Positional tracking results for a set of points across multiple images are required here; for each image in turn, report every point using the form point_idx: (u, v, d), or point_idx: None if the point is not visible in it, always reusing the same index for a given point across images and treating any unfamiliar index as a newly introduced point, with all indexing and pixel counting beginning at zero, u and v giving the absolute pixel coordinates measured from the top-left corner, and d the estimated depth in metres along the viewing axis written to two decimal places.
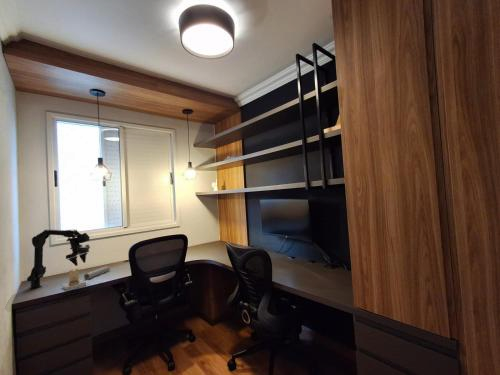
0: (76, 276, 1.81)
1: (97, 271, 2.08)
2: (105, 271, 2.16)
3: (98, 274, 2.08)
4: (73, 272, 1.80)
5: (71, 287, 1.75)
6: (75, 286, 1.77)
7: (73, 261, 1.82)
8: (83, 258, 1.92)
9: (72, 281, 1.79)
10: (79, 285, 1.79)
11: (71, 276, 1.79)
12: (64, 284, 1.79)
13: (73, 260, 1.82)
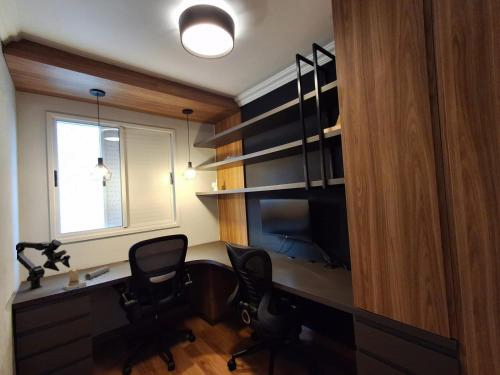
0: (76, 276, 1.81)
1: (98, 271, 2.08)
2: (105, 271, 2.16)
3: (98, 274, 2.08)
4: (73, 272, 1.80)
5: (71, 287, 1.75)
6: (75, 286, 1.77)
7: (53, 268, 1.78)
8: (66, 264, 1.88)
9: (72, 281, 1.79)
10: (79, 285, 1.79)
11: (71, 276, 1.79)
12: (64, 284, 1.79)
13: (53, 267, 1.78)
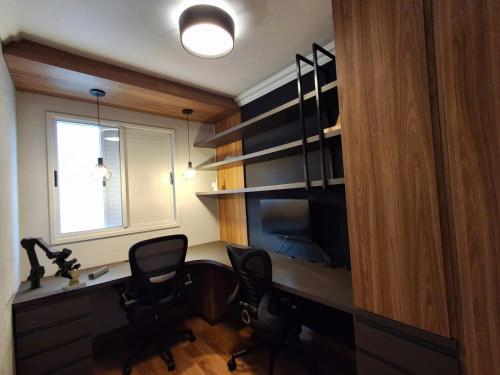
0: (76, 276, 1.81)
1: (99, 271, 2.08)
2: (105, 271, 2.16)
3: (100, 274, 2.08)
4: (73, 272, 1.80)
5: (71, 287, 1.75)
6: (75, 286, 1.77)
7: (66, 276, 1.78)
8: None
9: (72, 281, 1.79)
10: (79, 285, 1.79)
11: None
12: (64, 284, 1.79)
13: (66, 275, 1.78)
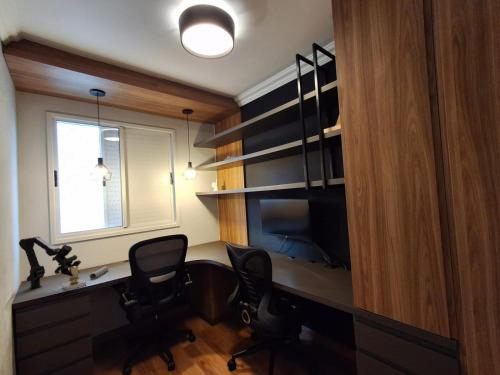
0: (76, 273, 1.81)
1: (100, 271, 2.08)
2: (105, 271, 2.16)
3: None
4: (73, 269, 1.80)
5: (71, 287, 1.75)
6: (75, 286, 1.77)
7: (66, 273, 1.78)
8: None
9: (72, 278, 1.79)
10: (79, 285, 1.79)
11: None
12: (64, 284, 1.79)
13: (66, 272, 1.78)
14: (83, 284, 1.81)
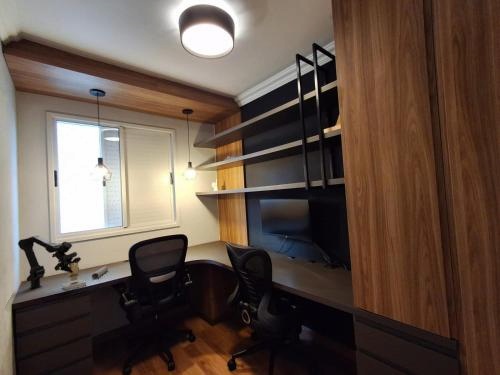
0: (76, 270, 1.81)
1: (101, 271, 2.08)
2: (105, 271, 2.16)
3: None
4: (73, 265, 1.80)
5: (71, 287, 1.75)
6: (75, 286, 1.77)
7: (66, 269, 1.78)
8: None
9: (72, 274, 1.79)
10: (79, 285, 1.79)
11: (71, 269, 1.79)
12: (64, 284, 1.79)
13: (66, 269, 1.78)
14: (83, 284, 1.81)
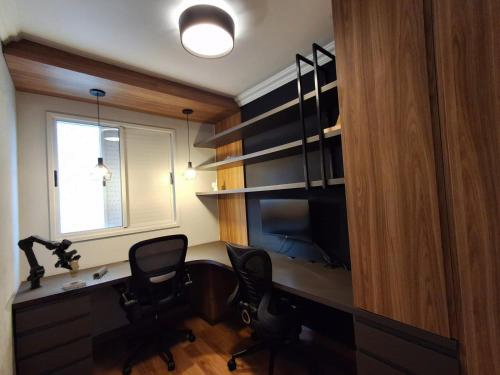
0: (76, 267, 1.81)
1: (102, 270, 2.08)
2: None
3: (103, 273, 2.09)
4: (73, 263, 1.80)
5: (71, 287, 1.75)
6: (75, 286, 1.77)
7: (66, 267, 1.78)
8: None
9: (72, 272, 1.79)
10: (79, 285, 1.79)
11: None
12: (64, 284, 1.79)
13: (66, 266, 1.78)
14: (83, 284, 1.81)
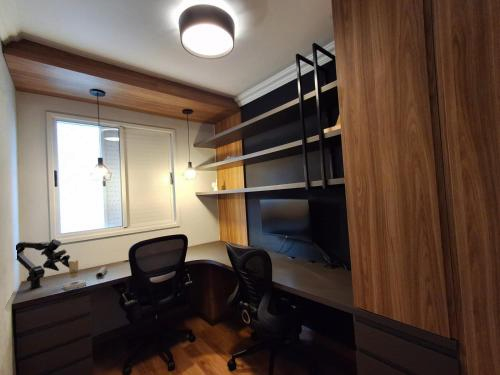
0: (76, 267, 1.81)
1: (103, 270, 2.09)
2: None
3: (104, 273, 2.09)
4: (73, 263, 1.80)
5: (71, 287, 1.75)
6: (75, 286, 1.77)
7: (53, 267, 1.78)
8: (66, 264, 1.88)
9: (72, 272, 1.79)
10: (79, 285, 1.79)
11: (71, 267, 1.79)
12: (64, 284, 1.79)
13: (52, 267, 1.78)
14: (83, 284, 1.81)
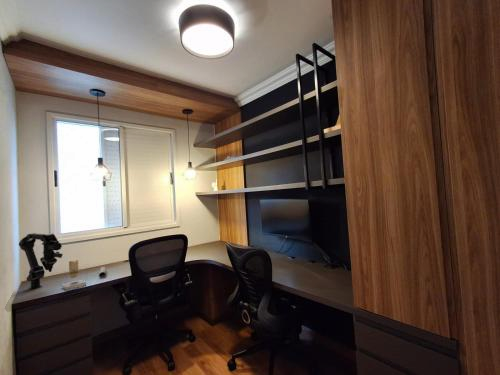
0: (76, 267, 1.81)
1: (105, 270, 2.09)
2: None
3: (105, 273, 2.10)
4: (73, 263, 1.80)
5: (71, 287, 1.75)
6: (75, 286, 1.77)
7: (49, 266, 1.77)
8: (46, 265, 1.84)
9: (72, 272, 1.79)
10: (79, 285, 1.79)
11: (71, 267, 1.79)
12: (64, 284, 1.79)
13: (49, 265, 1.77)
14: (83, 284, 1.81)
